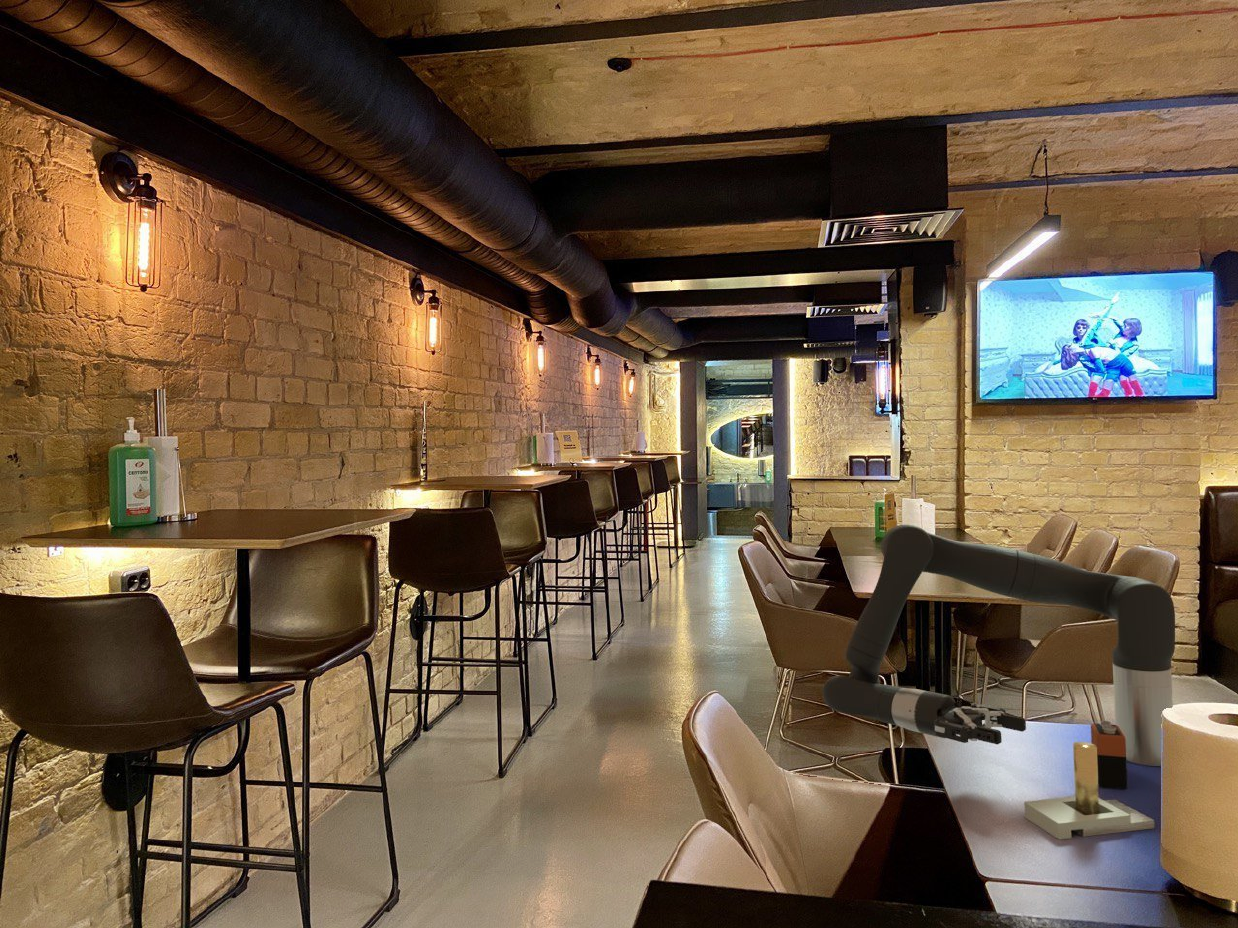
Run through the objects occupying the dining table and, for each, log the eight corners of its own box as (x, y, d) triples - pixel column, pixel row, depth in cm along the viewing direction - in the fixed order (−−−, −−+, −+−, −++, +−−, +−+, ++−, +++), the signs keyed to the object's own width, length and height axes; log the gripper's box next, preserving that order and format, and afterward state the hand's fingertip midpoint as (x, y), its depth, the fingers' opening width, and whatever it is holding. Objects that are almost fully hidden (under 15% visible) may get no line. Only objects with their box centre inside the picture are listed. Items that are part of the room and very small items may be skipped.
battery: (1098, 787, 140) (1096, 729, 140) (1092, 773, 146) (1089, 717, 146) (1128, 790, 138) (1125, 731, 138) (1120, 775, 145) (1118, 719, 145)
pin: (1089, 816, 129) (1086, 740, 129) (1104, 825, 126) (1101, 747, 126) (1071, 818, 129) (1068, 742, 129) (1085, 827, 125) (1082, 749, 125)
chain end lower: (1083, 836, 123) (1083, 828, 123) (1047, 814, 131) (1047, 806, 131) (1154, 827, 124) (1154, 820, 124) (1115, 806, 132) (1114, 798, 132)
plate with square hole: (1092, 808, 132) (1092, 794, 132) (1131, 830, 124) (1130, 814, 124) (1024, 816, 130) (1024, 801, 130) (1059, 839, 122) (1058, 823, 122)
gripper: (900, 699, 145) (990, 718, 132) (943, 683, 154) (1031, 699, 141) (903, 742, 145) (993, 765, 132) (945, 722, 154) (1033, 742, 141)
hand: (1012, 731), depth 137 cm, fingers open, 8 cm apart
